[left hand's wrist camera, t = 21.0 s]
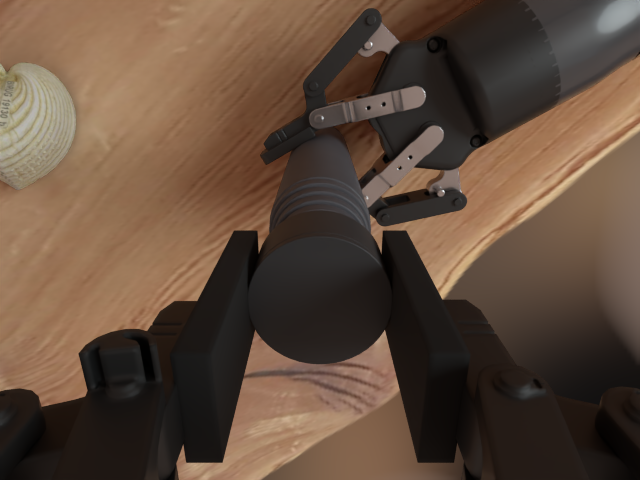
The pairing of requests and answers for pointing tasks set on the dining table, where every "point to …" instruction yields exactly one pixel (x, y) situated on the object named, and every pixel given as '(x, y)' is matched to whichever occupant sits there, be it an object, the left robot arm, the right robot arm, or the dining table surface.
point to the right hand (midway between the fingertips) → (285, 189)
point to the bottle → (320, 181)
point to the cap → (320, 288)
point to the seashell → (33, 123)
